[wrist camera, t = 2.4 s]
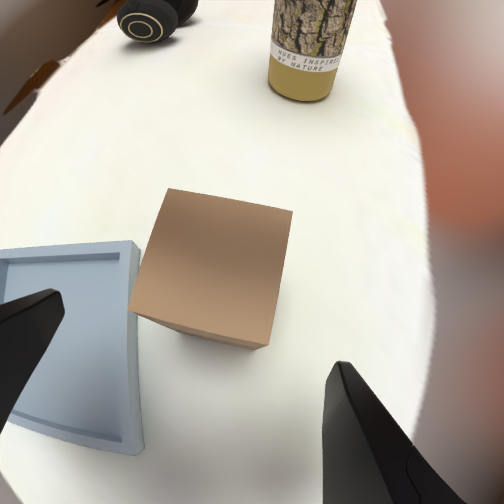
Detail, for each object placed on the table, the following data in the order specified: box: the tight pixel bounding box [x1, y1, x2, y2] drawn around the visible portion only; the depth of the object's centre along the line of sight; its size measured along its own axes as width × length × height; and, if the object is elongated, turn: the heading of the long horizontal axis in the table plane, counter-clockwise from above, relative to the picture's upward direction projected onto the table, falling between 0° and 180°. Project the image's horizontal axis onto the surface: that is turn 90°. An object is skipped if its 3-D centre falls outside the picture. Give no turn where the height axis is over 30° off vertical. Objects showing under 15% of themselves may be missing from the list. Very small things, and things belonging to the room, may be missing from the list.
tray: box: [0, 240, 144, 456], centre depth 16 cm, size 14×14×2 cm
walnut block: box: [128, 188, 293, 350], centre depth 14 cm, size 5×5×9 cm
